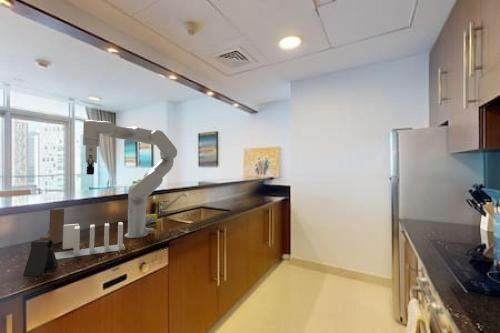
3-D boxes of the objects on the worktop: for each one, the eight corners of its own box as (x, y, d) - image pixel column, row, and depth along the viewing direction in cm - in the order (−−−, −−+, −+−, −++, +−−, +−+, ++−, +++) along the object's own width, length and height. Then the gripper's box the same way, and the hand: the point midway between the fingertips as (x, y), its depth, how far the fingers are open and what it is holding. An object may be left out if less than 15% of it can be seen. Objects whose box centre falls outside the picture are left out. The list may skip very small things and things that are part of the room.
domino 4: (108, 246, 121) (108, 223, 122) (108, 250, 116) (109, 225, 116) (104, 247, 120) (104, 223, 121) (104, 251, 115) (104, 226, 116)
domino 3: (94, 248, 118) (94, 224, 118) (93, 252, 113) (94, 227, 113) (89, 249, 117) (90, 224, 117) (89, 253, 112) (90, 227, 112)
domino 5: (121, 245, 125) (122, 221, 125) (122, 248, 120) (123, 224, 120) (117, 245, 124) (118, 222, 124) (118, 249, 119) (119, 224, 119)
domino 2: (79, 250, 115) (79, 225, 115) (78, 254, 110) (79, 228, 110) (74, 251, 114) (75, 226, 114) (73, 255, 109) (74, 228, 109)
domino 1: (63, 249, 118) (63, 224, 118) (78, 247, 121) (78, 223, 121) (62, 250, 117) (63, 225, 117) (77, 248, 120) (78, 224, 120)
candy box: (133, 229, 158) (134, 216, 158) (132, 228, 160) (132, 216, 160) (157, 225, 170) (157, 213, 170) (156, 225, 172) (156, 213, 172)
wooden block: (46, 246, 121) (47, 211, 121) (39, 245, 122) (40, 210, 122) (63, 241, 130) (64, 208, 130) (57, 240, 131) (58, 207, 131)
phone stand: (43, 266, 98) (44, 237, 98) (58, 266, 98) (59, 237, 98) (22, 276, 89) (23, 244, 89) (39, 276, 89) (40, 244, 89)
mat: (123, 244, 127) (123, 243, 127) (125, 250, 118) (125, 249, 118) (50, 254, 111) (50, 253, 111) (46, 261, 102) (46, 260, 102)
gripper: (99, 142, 126) (98, 174, 126) (99, 144, 141) (98, 173, 141) (82, 141, 122) (81, 174, 122) (83, 143, 137) (82, 173, 137)
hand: (90, 174), depth 131 cm, fingers open, 9 cm apart
